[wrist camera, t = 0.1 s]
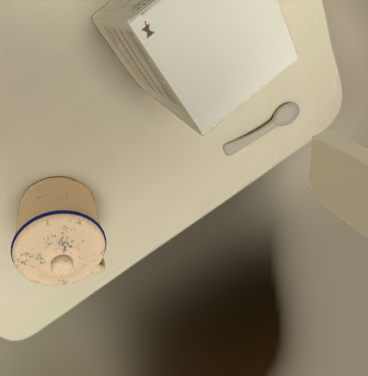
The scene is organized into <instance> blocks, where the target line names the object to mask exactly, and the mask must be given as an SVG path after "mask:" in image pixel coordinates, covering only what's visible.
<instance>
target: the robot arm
mask: <svg viewBox="0 0 368 376" xmlns="http://www.w3.org/2000/svg"><path fill="white" fill-rule="evenodd" d="M309 195H310V196H311V197H313V198H314V199H315V200H317V201H318V202H319V203H321V204H322V205H323V206H325V207H326V208H327V209H329V210H330V211H331V212H333V213H334V214H335V215H337V216H338V217H339V218H341V219H342V220H343V221H345V222H346V223H347V224H349V225H350V226H351V227H353V228H354V229H355V230H357V231H358V232H360V233H361V234H362V235H364V236H365V237H366V238H368V149H366V148H364V147H362V146H360V145H358V144H356V143H354V142H351V141H349V140H347V139H345V138H343V137H340V136H339V135H336V134H334V133H332V132H329V131H328V132H325V133H322V134H319V135H316V136H313V139H312V156H311V171H310V186H309Z"/></svg>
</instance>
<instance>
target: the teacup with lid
mask: <svg viewBox="0 0 368 376" xmlns="http://www.w3.org/2000/svg"><path fill="white" fill-rule="evenodd" d="M105 250H106V237H105V234H104V231H103V229H102V228H101V226H100V223H99V219H98V215H97V211H96V207H95V203H94V199H93V197H92V195H91V193H90V191H89V190H88V189H87V188H86V187H85V186H84V185H82V184H81V183H79V182H77V181H75V180H73V179H69V178H63V177H53V178H48V179H44V180H41V181H39V182H37V183H35V184H34V185H32V186H31V187H30V188H29V189H28V190H27V191H26V192H25V193H24V195H23V197H22V199H21V201H20V205H19V212H18V220H17V227H16V235H15V237H14V239H13V241H12V245H11V257H12V260H13V263H14V265H15V267H16V268H17V270H18V271H19V272H20V273H21V274H22V275H23V276H24V277H26V278H27V279H29V280H30V281H32V282H35V283H38V284H41V285H47V286H61V285H67V284H71V283H74V282H77V281H79V280H81V279H83V278H85V277H86V276H88V275H89V274H90V273H94V274H99V273H101V272H102V271H103V270H104V269H105V261H104V259H103V256H104V253H105Z"/></svg>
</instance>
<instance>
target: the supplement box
mask: <svg viewBox="0 0 368 376" xmlns="http://www.w3.org/2000/svg"><path fill="white" fill-rule="evenodd" d="M91 18H92V21H93V22H94V24H95V25H96V27H97V28H98V30H99V31H100V32H101V34H102V35H103V37H104V38H105V40H106V41H107V42H108V44H109V45H110V47H111V48H112V49H113V51H114V52H115V54H116V55H117V56H118V58H119V59H120V61H121V62H122V63H123V65H124V66H125V67H126V69H127V70H128V71H129V73H130V74H131V75H132V77H133V78H134V79H135V81H136V82H137V83H138V85H139V86H140V87H141V88H142V89H143V90H144V91H145V92H147V93H148V94H149V95H150V96H152V97H153V98H154V99H156V100H157V101H158V102H159V103H161V104H162V105H163V106H165V107H166V108H167V109H168V110H170V111H171V112H172V113H174V114H175V115H176V116H177V117H179V118H180V119H181V120H183V121H184V122H185V123H186V124H188V125H189V126H190V127H192V128H193V129H194V130H195V131H197V132H198V133H199V134H201V135H202V136H204V135H205V134H206V133H207V132H208V131H210V130H211V129H212V128H213V127H215V126H216V125H217V124H218V123H219V122H221V121H222V120H223V119H224V118H226V117H227V116H228V115H229V114H230V113H232V112H233V111H234V110H235V109H237V108H238V107H239V106H240V105H242V104H243V103H244V102H245V101H246V100H248V99H249V98H250V97H251V96H253V95H254V94H255V93H256V92H258V91H259V90H260V89H261V88H262V87H264V86H265V85H266V84H267V83H269V82H270V81H271V80H272V79H273V78H275V77H276V76H277V75H278V74H280V73H281V72H282V71H283V70H285V69H286V68H287V67H288V66H290V65H291V64H292V63H293V62H295V61H296V60H298V56H297V53H296V50H295V48H294V45H293V42H292V39H291V36H290V34H289V31H288V29H287V26H286V23H285V21H284V18H283V15H282V13H281V10H280V7H279V4H278V2H277V0H111V1H109V2H108V3H107V4H106V5H105V6H103V7H102V8H101V9H100V10H99V11H97V12H96V13H95V14H94V15H93V16H92V17H91Z"/></svg>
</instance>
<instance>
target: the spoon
mask: <svg viewBox="0 0 368 376" xmlns="http://www.w3.org/2000/svg"><path fill="white" fill-rule="evenodd" d="M299 111H300V110H299V106H298V105H297V104H296V103H286V104H284V105H282V106H280V107H279V108H278V109H277V110H276V111H275V113H274V116H273V118H272V120H271V121H270V122H268V123H267V124H266V125H264V126H263V127H261V128H260V129H258V130H256V131H254V132H252V133H250V134H248V135H246V136H244V137H241V138H239V139H236V140H233V141H230V142H228V143H226V144H224V146H223V149H224V151H225V153H226V155H228V156H230V155H232V154H234V153H236V152H237V151H239V150H240V149H242V148H243V147H245V146H247V145H249V144H250V143H252V142H254V141H255V140H257V139H259V138H260V137H262V136H263V135H265V134H266V133H267V132H269V131H270V130H272V129H273V128H275V127H277V126H286V125H288V124H290V123H292V122H293V121H294V120H295V119H296V118H297V116H298V114H299Z"/></svg>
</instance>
